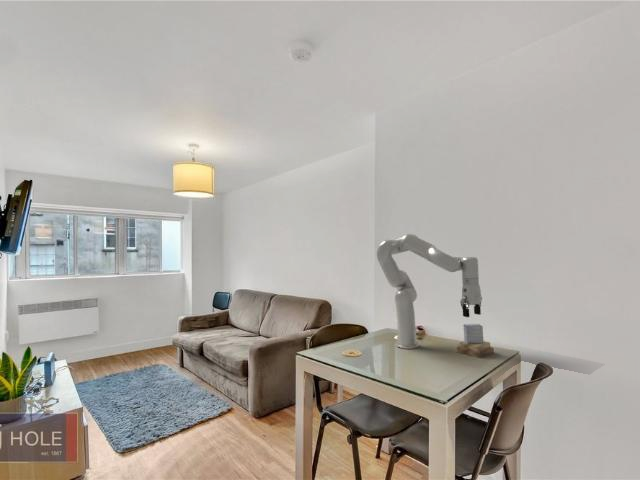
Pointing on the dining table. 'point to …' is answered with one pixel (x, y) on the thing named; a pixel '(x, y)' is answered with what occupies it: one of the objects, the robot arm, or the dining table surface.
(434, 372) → the dining table surface
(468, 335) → the medicine box
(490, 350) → the brown rock slab
